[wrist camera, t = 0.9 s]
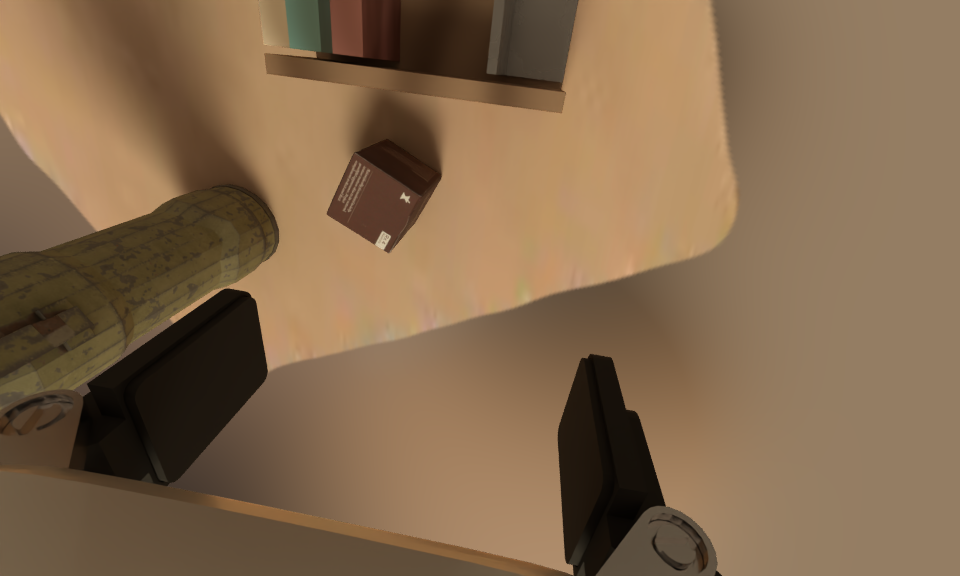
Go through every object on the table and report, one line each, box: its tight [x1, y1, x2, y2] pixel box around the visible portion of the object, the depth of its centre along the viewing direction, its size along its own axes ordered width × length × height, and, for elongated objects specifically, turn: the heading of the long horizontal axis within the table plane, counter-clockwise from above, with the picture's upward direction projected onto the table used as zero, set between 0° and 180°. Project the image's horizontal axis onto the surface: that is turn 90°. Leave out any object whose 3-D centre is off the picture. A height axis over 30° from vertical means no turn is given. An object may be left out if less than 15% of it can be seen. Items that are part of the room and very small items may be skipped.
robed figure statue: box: [0, 185, 279, 410], centre depth 27 cm, size 9×12×35 cm
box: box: [327, 139, 442, 253], centre depth 34 cm, size 6×6×7 cm
